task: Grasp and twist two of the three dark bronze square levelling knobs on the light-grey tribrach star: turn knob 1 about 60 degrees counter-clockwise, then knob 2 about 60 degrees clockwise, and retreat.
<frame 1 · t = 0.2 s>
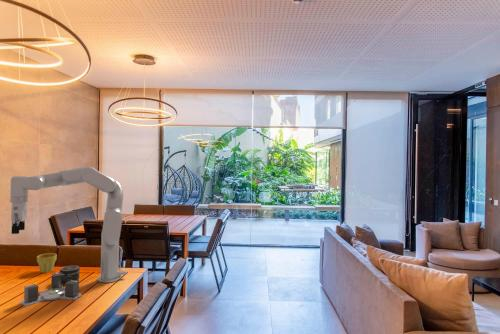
hand: (18, 231, 169), 31 cm above the table, fingers open, 9 cm apart
knob 1: (31, 292, 154), point 5 cm above the table, hinge at 0.0°
jar: (69, 281, 183), on the table
knob 2: (72, 287, 161), point 5 cm above the table, hinge at 0.0°
tribrach base: (53, 295, 162), on the table
plant pot: (46, 271, 199), on the table
knob 3: (56, 279, 172), point 5 cm above the table, hinge at 0.0°
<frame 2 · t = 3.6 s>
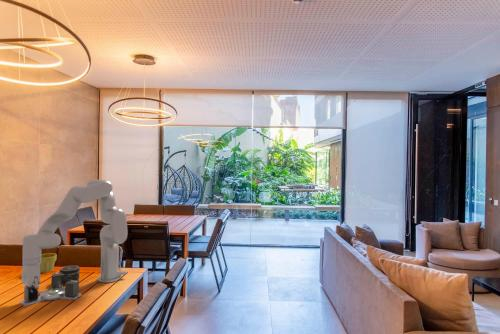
hand: (31, 297, 154), 2 cm above the table, fingers closed on knob 1, 4 cm apart
knob 1: (31, 292, 154), point 5 cm above the table, hinge at -0.1°, touching gripper
everything else where it was.
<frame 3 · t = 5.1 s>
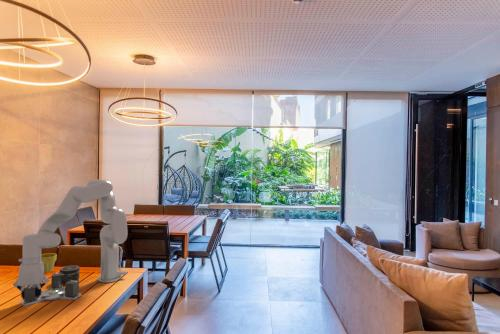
hand: (31, 297, 154), 2 cm above the table, fingers open, 5 cm apart
knob 1: (31, 292, 154), point 5 cm above the table, hinge at 54.8°
everything else where it was.
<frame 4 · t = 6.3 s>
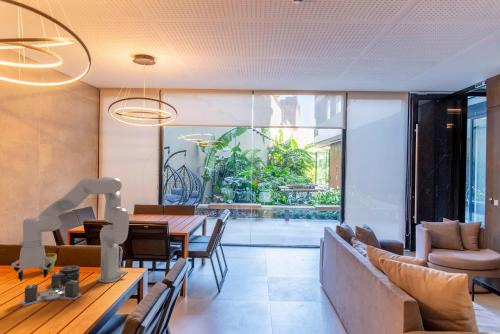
hand: (33, 278, 155), 11 cm above the table, fingers open, 9 cm apart
knob 1: (31, 292, 154), point 5 cm above the table, hinge at 60.0°
everything else where it was.
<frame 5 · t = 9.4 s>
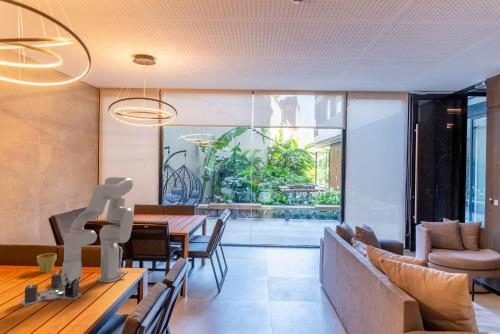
hand: (71, 292, 161), 2 cm above the table, fingers closed on knob 2, 4 cm apart
knob 1: (31, 292, 154), point 5 cm above the table, hinge at 60.8°
knob 2: (72, 287, 161), point 5 cm above the table, hinge at 0.0°, touching gripper
everything else where it was.
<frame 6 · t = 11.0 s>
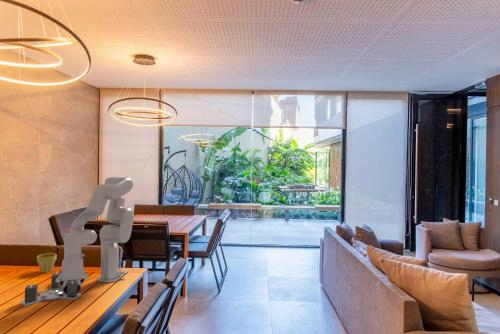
hand: (71, 292, 161), 2 cm above the table, fingers closed on knob 2, 4 cm apart
knob 2: (72, 287, 161), point 5 cm above the table, hinge at -52.6°, touching gripper
everything else where it was.
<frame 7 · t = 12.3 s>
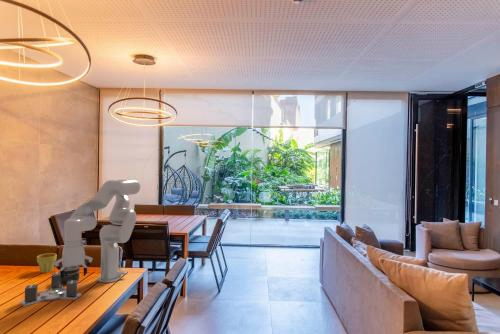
hand: (74, 276, 162), 10 cm above the table, fingers open, 9 cm apart
knob 2: (72, 287, 161), point 5 cm above the table, hinge at -61.1°
everything else where it was.
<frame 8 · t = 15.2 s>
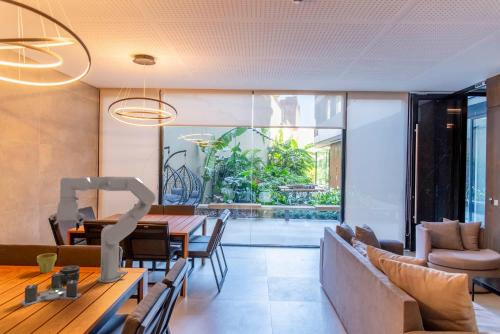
hand: (67, 230, 177), 30 cm above the table, fingers open, 9 cm apart
knob 2: (72, 287, 161), point 5 cm above the table, hinge at -62.2°
everything else where it was.
at the end: knob 1 at +61° (first picture: +0°); knob 2 at -62° (first picture: +0°); the gripper is holding nothing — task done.
